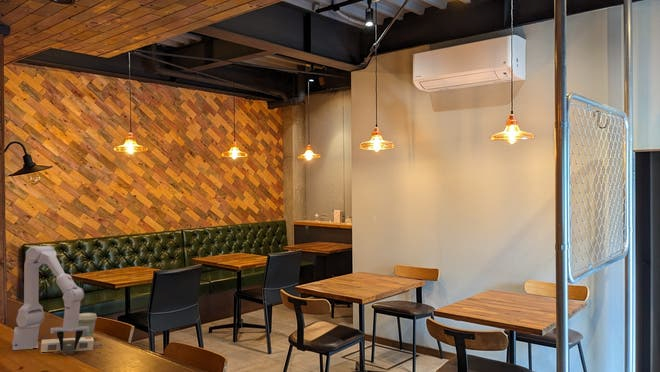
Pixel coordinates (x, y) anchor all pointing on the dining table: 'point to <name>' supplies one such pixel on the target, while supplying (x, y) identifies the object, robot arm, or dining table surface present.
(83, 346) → the power strip
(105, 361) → the dining table surface
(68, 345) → the charger
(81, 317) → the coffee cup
